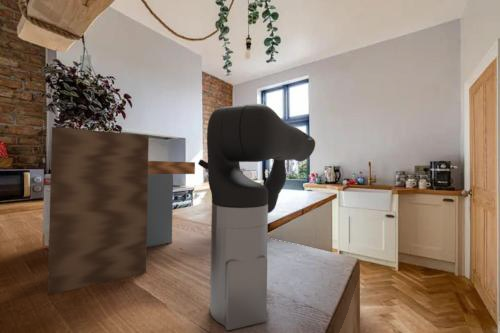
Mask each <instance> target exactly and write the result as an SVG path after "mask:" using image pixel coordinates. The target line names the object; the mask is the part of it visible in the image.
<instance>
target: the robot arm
mask: <svg viewBox="0 0 500 333" xmlns="http://www.w3.org/2000/svg"><path fill="white" fill-rule="evenodd" d="M206 130H207V132H206V149H207V150H206V152H207V161H205V160H203V159H199V161H198V163H197V165H199V166H200V167H201V168H203V169H204V170H205V172H207V181H208V185H209V190H210V193H211V225H210V227H211V228H210V230H211V231H210V232H211V233H210V283H209V284H210V285H209V286H210V289H209V290H210V291H209V292H210V296H209V298H210V299H209V301H210V302H209V303H210V306H209V311H210V312H209V313H210V315H211V317H212V318H213V320H215V322H218V323H219V324H221V325H223V326H224V327H225V330H226V331H231V330H236V329H241V328H245V327H249V326H252V325H257V324H262V323H266V322H267V317H268V315H267V311H268V310H267V309H268V308H267V306H268V304H267V302H268V301H267V299H268V293H267V292H268V228H269V227H268V220H269V219H268V218H269V214H270V213H271V212H273V211H274V210H275V208H276V205H277V202H278V199H279V195H280V193H281V191H282V190H283V188H284V186H285V184H286V181H287V170H286V169H287V168H286V161H289V160H294V161H297V162H298V163H299V162H301V163H302V162H304V161H306V160H308V159H309V158H310V157H311V155H312V154H313V152H314V151H315V147H316V140H315V139H314V138H313V137H312V136H311V135H309V134H307V133H306V132H304V131H303V130H301V129H300V128H298V127H296V126H293V125H291V124H290V123H288V122H286V121H284V120H283V119H282V118H281V117H280V116H279V115H278V114H277V112H275V111H274V109H272V108H271V107H270V106H268V105H266V104H263V103H250V104H249V103H248V104H240V105H231V106H223V107H218V108H216V109H215V110H213V111H212V113H211V114H210V117H209V120H208V123H207V129H206ZM269 160H273V162H272V165H271V169H270V172H269V174H268V176H267V178H266V181H265V182H264V184H262V183H259V182H257V181H255V180H253V179H251V178H250V177H248V176H247V175H245V174H244V173H243V171H242V170H241V166H240V163H260V162H264V161H265V162H266V161H269Z"/></svg>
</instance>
